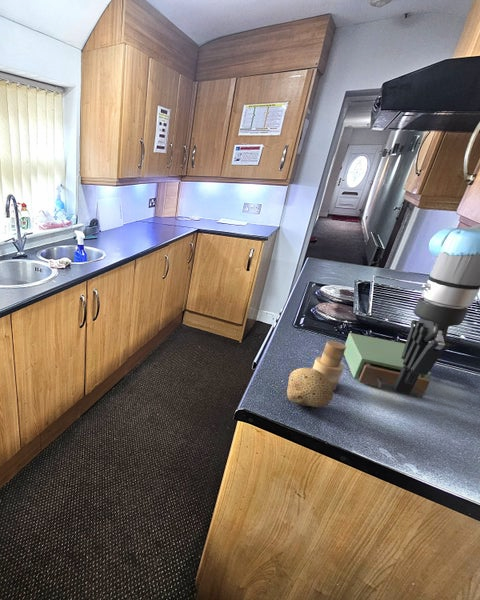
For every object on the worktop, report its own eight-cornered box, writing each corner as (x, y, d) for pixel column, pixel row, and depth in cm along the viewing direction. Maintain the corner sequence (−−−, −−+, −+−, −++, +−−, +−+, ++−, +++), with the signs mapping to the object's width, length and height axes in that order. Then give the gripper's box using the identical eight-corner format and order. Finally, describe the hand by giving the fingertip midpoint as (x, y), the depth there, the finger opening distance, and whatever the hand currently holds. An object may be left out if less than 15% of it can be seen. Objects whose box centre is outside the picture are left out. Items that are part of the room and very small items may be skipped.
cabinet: (419, 395, 84) (431, 373, 81) (353, 379, 90) (361, 358, 87) (398, 363, 98) (407, 344, 95) (342, 351, 104) (349, 332, 101)
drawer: (428, 407, 78) (437, 391, 76) (363, 391, 84) (369, 375, 82) (401, 366, 94) (408, 352, 93) (347, 355, 100) (353, 341, 98)
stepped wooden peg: (333, 382, 88) (348, 342, 84) (337, 395, 84) (353, 353, 79) (307, 376, 91) (320, 336, 86) (309, 387, 86) (323, 346, 81)
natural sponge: (330, 405, 79) (343, 372, 75) (320, 424, 74) (334, 389, 70) (288, 388, 85) (298, 356, 81) (277, 404, 80) (287, 371, 76)
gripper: (410, 290, 77) (374, 373, 86) (432, 309, 67) (389, 402, 76) (453, 296, 74) (411, 382, 83) (484, 317, 63) (432, 413, 72)
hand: (400, 391), depth 79 cm, fingers closed
